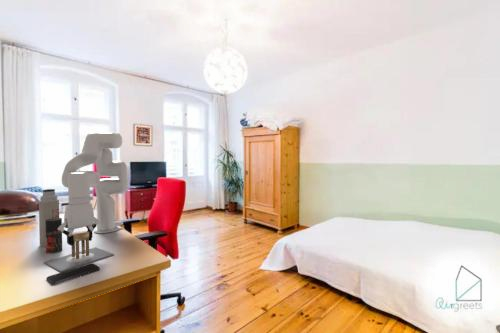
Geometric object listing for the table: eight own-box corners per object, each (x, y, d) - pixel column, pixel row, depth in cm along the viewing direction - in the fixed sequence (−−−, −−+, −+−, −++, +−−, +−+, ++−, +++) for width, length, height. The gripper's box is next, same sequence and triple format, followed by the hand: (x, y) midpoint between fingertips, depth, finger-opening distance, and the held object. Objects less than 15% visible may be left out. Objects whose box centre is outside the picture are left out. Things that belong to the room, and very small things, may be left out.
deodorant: (65, 249, 116) (64, 218, 116) (51, 254, 110) (51, 221, 110) (56, 248, 118) (56, 217, 118) (43, 252, 112) (42, 220, 112)
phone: (100, 268, 94) (52, 283, 82) (100, 270, 94) (52, 286, 82) (92, 263, 99) (45, 276, 87) (92, 265, 99) (45, 280, 87)
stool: (85, 252, 109) (84, 230, 109) (92, 255, 106) (91, 232, 106) (68, 257, 104) (68, 233, 104) (75, 260, 100) (75, 236, 100)
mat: (95, 248, 117) (95, 247, 117) (113, 255, 109) (113, 253, 109) (44, 263, 100) (44, 261, 100) (60, 272, 92) (60, 270, 92)
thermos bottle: (63, 242, 127) (62, 188, 127) (48, 247, 119) (47, 190, 119) (51, 241, 129) (50, 188, 128) (35, 246, 121) (34, 190, 120)
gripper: (96, 197, 114) (97, 235, 114) (51, 203, 99) (52, 246, 99) (105, 199, 110) (105, 238, 110) (59, 204, 95) (60, 250, 95)
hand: (80, 242), depth 105 cm, fingers closed on stool, 6 cm apart
